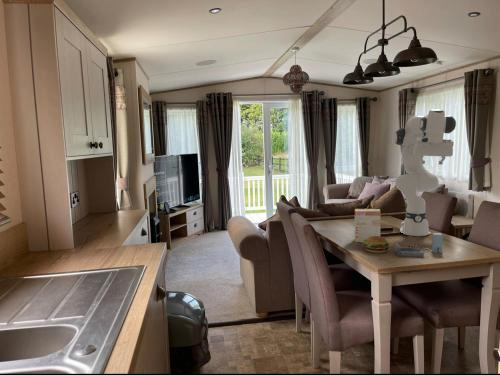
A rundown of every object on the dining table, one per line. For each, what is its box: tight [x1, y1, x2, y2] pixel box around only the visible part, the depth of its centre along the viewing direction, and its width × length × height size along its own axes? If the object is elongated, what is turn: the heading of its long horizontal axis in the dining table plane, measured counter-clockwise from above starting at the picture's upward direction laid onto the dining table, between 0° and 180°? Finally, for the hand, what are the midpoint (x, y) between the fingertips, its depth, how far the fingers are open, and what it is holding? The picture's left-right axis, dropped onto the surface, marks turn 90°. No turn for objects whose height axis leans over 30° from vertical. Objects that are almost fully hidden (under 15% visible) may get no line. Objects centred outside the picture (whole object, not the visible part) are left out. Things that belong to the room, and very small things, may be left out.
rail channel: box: [394, 242, 425, 258], centre depth 208 cm, size 9×13×5 cm
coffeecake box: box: [354, 208, 382, 243], centre depth 237 cm, size 15×7×20 cm, turn 74°
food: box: [361, 235, 390, 254], centre depth 217 cm, size 14×14×8 cm
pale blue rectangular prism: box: [431, 232, 444, 254], centre depth 211 cm, size 4×4×10 cm
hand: (431, 164), depth 217 cm, fingers open, 8 cm apart
